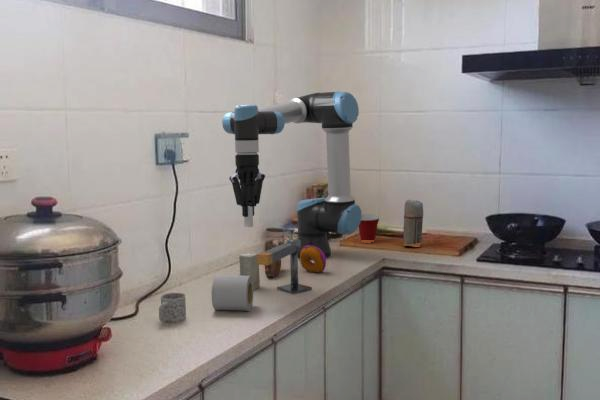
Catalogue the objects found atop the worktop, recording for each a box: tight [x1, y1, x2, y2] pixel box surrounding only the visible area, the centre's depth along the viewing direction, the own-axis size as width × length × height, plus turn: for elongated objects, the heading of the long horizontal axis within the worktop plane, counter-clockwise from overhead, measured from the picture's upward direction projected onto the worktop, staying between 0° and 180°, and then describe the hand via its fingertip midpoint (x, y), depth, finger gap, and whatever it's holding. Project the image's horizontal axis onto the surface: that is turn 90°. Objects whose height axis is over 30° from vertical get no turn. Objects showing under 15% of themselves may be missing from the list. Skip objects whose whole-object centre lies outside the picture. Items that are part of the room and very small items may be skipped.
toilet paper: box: [211, 274, 255, 312], centre depth 186 cm, size 10×10×10 cm
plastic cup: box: [358, 213, 381, 241], centre depth 283 cm, size 11×11×12 cm
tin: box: [264, 258, 282, 278], centre depth 227 cm, size 15×3×8 cm, turn 168°
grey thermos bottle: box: [402, 199, 424, 244], centre depth 273 cm, size 8×8×20 cm
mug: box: [158, 292, 187, 324], centre depth 176 cm, size 10×7×7 cm, turn 159°
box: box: [238, 252, 261, 290], centre depth 209 cm, size 5×4×11 cm
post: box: [276, 251, 313, 295], centre depth 206 cm, size 8×8×12 cm
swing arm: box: [256, 238, 301, 266], centre depth 196 cm, size 24×4×3 cm, turn 156°
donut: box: [299, 245, 327, 273], centre depth 229 cm, size 8×9×10 cm
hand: (248, 226), depth 207 cm, fingers closed
